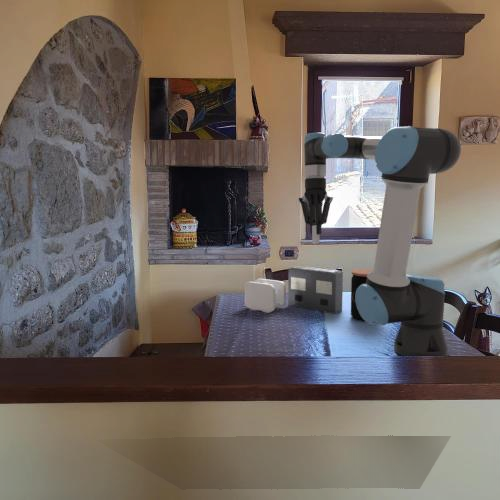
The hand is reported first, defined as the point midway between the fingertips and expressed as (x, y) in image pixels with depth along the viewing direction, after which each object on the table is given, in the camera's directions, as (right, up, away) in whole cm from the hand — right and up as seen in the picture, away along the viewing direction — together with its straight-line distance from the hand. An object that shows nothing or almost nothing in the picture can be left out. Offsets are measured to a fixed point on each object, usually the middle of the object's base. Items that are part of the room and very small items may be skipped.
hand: (315, 243), depth 162 cm
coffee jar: (+20, -29, +8) cm, 36 cm away
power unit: (+3, -26, +23) cm, 35 cm away
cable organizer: (-18, -27, +23) cm, 40 cm away
